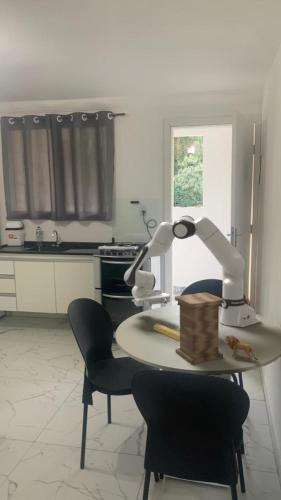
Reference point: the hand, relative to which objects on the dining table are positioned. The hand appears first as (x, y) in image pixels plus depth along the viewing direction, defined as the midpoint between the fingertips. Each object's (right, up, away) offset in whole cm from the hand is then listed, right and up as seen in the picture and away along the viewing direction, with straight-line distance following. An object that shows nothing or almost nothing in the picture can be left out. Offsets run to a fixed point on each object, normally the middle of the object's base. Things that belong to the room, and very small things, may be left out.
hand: (158, 303), depth 209 cm
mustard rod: (+6, -15, -10) cm, 19 cm away
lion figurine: (+34, -18, -39) cm, 55 cm away
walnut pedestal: (+16, -18, -35) cm, 43 cm away
